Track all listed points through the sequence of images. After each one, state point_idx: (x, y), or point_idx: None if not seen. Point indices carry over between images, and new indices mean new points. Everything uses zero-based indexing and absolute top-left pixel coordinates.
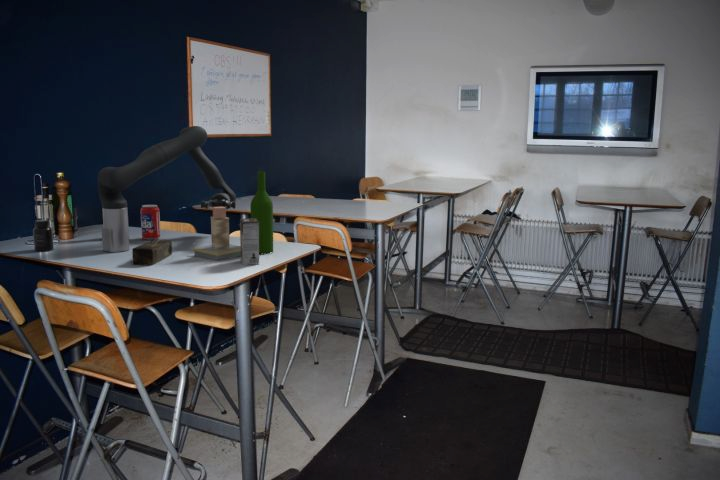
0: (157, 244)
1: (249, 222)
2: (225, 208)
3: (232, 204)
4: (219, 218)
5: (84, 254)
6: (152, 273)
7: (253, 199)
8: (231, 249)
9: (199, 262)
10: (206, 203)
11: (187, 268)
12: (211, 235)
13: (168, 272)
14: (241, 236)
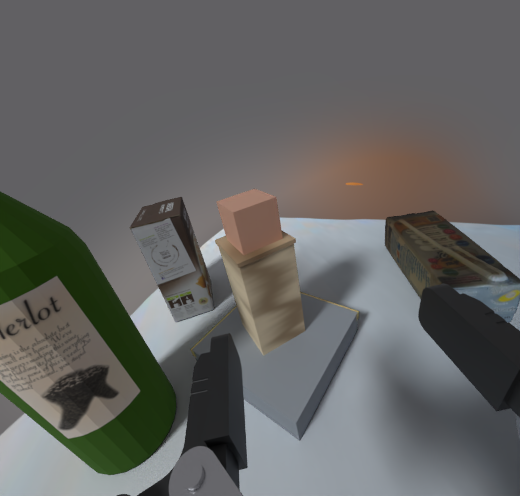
0: (430, 246)
1: (164, 201)
2: (218, 203)
3: (158, 486)
4: None
5: None
6: (343, 222)
7: (52, 221)
8: (235, 314)
9: (302, 277)
10: (438, 287)
11: (305, 246)
12: (300, 299)
13: (323, 229)
14: (193, 233)
